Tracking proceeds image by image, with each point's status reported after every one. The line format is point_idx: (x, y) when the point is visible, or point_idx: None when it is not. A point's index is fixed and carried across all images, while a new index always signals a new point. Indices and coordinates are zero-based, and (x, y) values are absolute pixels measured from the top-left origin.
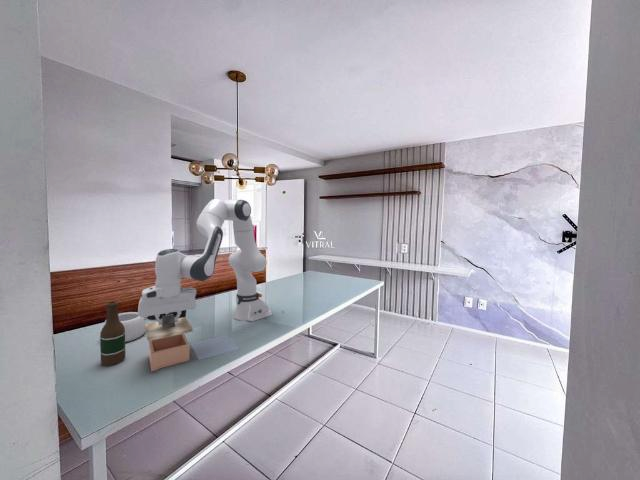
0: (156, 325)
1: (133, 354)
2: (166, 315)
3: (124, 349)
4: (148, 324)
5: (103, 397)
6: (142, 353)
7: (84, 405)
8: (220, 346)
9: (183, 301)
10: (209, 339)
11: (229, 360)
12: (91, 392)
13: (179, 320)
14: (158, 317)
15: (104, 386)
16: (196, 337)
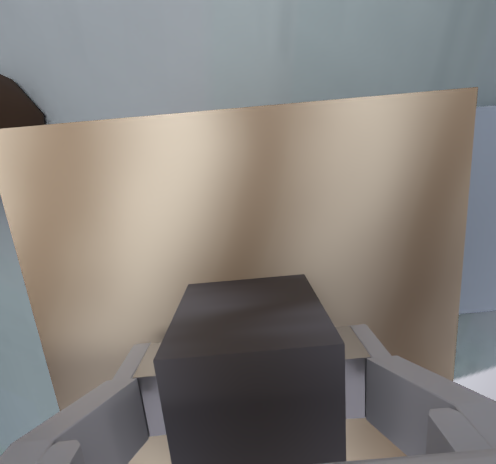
0: (128, 252)
1: (79, 94)
2: (226, 361)
3: (4, 127)
4: (30, 172)
5: (51, 400)
6: (123, 106)
7: (9, 415)
8: (492, 239)
9: None
10: (475, 117)
11: (472, 369)
12: (2, 355)
13: (382, 198)
14: (95, 450)
15: (33, 337)
16: (417, 24)
